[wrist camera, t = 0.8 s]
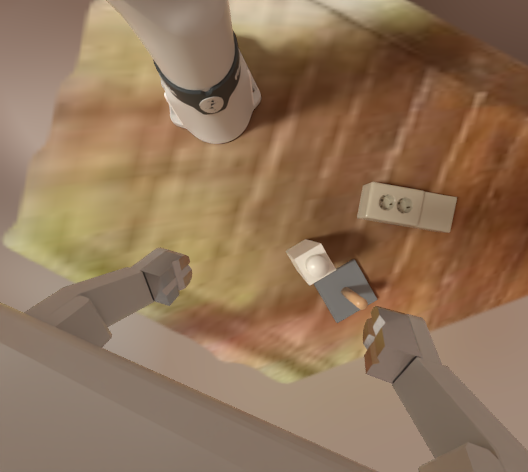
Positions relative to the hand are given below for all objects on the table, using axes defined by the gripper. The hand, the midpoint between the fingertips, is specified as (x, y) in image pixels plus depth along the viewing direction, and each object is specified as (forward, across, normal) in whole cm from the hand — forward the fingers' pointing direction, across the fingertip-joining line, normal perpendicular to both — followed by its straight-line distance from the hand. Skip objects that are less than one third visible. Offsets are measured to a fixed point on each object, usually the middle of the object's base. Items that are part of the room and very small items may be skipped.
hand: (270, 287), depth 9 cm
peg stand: (+29, -10, +27) cm, 40 cm away
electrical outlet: (+42, -17, +11) cm, 47 cm away
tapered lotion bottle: (+30, +1, +20) cm, 36 cm away
